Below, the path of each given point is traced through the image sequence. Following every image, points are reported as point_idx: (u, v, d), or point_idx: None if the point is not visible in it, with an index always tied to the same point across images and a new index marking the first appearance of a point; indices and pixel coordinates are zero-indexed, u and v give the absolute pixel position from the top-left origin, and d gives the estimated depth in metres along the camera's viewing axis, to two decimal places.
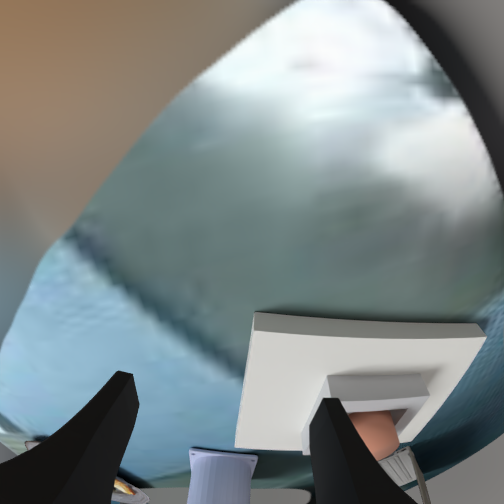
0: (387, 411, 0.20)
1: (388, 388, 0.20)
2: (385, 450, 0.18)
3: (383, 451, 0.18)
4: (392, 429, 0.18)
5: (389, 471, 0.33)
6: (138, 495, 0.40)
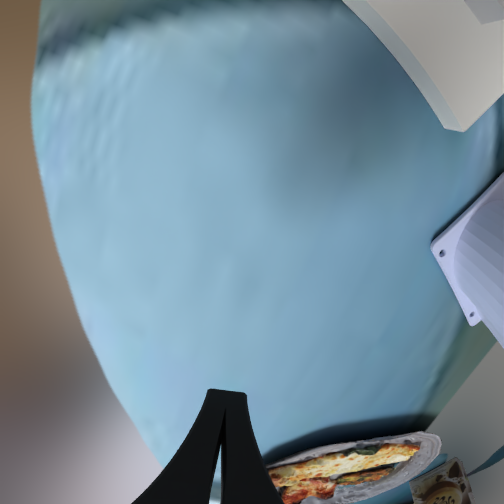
0: None
1: None
2: None
3: None
4: None
5: None
6: (424, 448, 0.27)
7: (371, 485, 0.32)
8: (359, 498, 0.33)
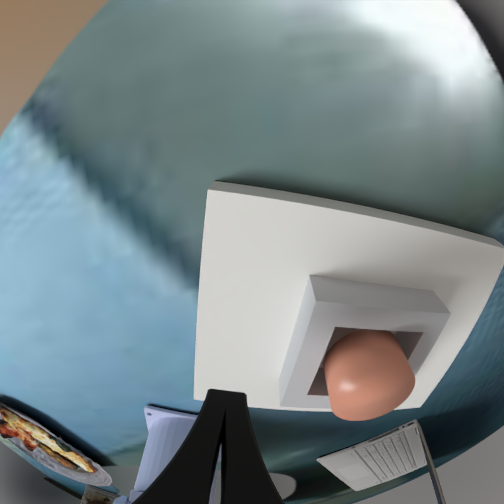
0: (395, 337, 0.16)
1: (394, 298, 0.15)
2: (395, 394, 0.14)
3: (393, 395, 0.14)
4: (404, 358, 0.14)
5: (392, 454, 0.29)
6: (100, 474, 0.35)
7: (60, 465, 0.38)
8: (48, 466, 0.37)
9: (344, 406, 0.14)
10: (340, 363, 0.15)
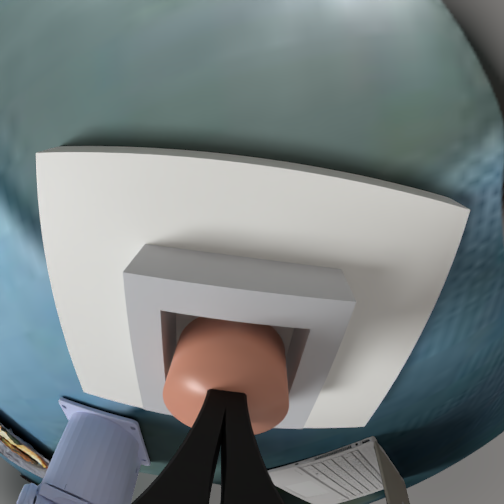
0: (267, 327, 0.12)
1: (256, 275, 0.11)
2: (260, 409, 0.10)
3: (257, 410, 0.11)
4: (265, 358, 0.10)
5: (350, 472, 0.25)
6: None
7: (24, 460, 0.34)
8: (14, 461, 0.34)
9: (187, 413, 0.11)
10: (175, 354, 0.11)
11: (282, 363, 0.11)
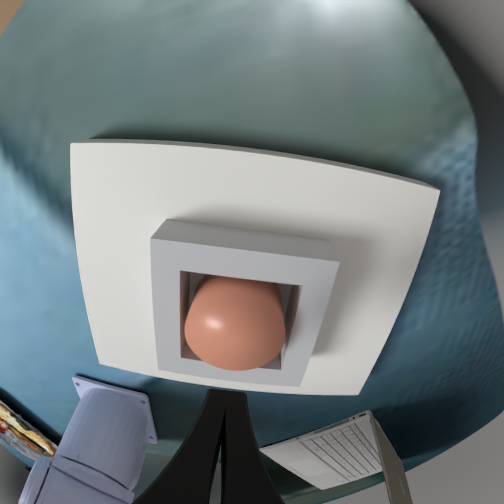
0: None
1: (258, 241, 0.14)
2: (262, 338, 0.14)
3: (260, 340, 0.14)
4: (266, 294, 0.14)
5: (349, 449, 0.28)
6: None
7: (31, 449, 0.37)
8: (21, 451, 0.37)
9: (203, 346, 0.15)
10: (195, 296, 0.15)
11: (279, 302, 0.15)
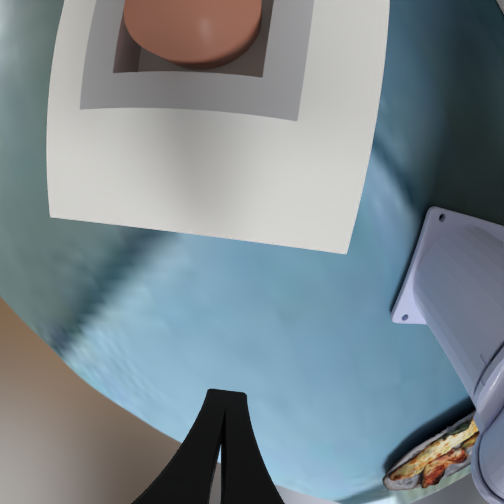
0: None
1: None
2: None
3: None
4: None
5: None
6: None
7: None
8: None
9: (208, 32, 0.08)
10: None
11: None
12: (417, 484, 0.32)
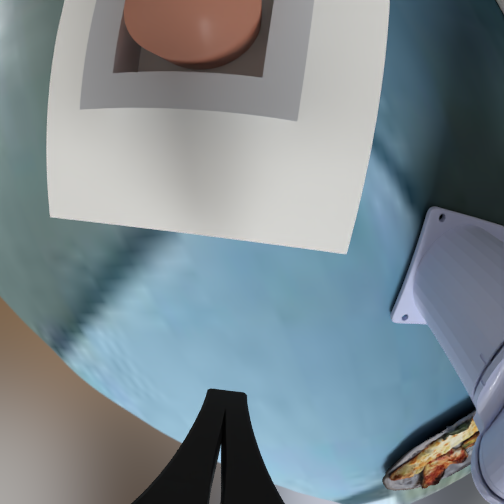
0: None
1: None
2: None
3: None
4: None
5: None
6: None
7: None
8: None
9: (208, 32, 0.08)
10: None
11: None
12: (417, 484, 0.32)
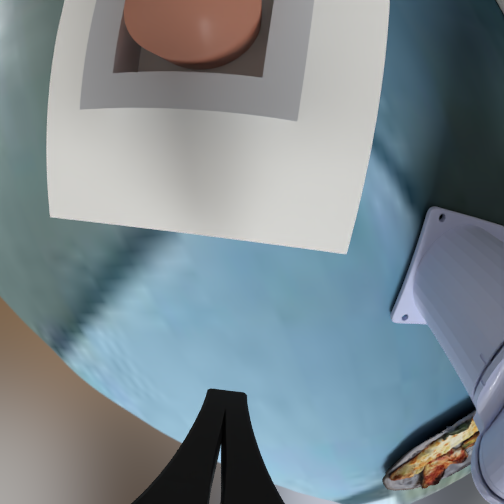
0: None
1: None
2: None
3: None
4: None
5: None
6: None
7: None
8: None
9: (208, 32, 0.08)
10: None
11: None
12: (417, 484, 0.32)
